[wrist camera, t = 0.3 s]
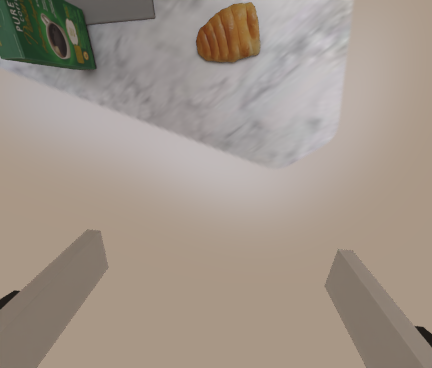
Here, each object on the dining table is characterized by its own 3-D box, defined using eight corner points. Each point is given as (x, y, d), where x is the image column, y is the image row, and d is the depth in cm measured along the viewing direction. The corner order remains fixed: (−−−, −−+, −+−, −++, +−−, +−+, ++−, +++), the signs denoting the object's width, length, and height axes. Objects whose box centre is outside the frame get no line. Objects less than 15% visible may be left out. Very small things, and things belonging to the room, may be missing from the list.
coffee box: (64, 7, 29) (-45, -44, 18) (82, 6, 29) (-15, -45, 18) (80, 70, 33) (-1, 62, 21) (97, 69, 33) (25, 62, 21)
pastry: (204, 73, 32) (201, 70, 29) (191, 24, 30) (186, 14, 27) (262, 54, 31) (266, 48, 27) (253, 1, 29) (256, -13, 25)
